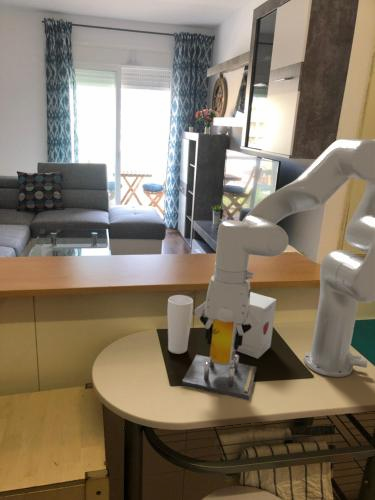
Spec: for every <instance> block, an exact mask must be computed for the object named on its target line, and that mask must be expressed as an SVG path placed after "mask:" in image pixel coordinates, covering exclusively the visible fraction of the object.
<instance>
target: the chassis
mask: <svg viewBox="0 0 375 500" xmlns="http://www.w3.org/2000/svg"><path fill="white" fill-rule="evenodd" d="M239 359H240V355H239V354H235V359H234V361H233V362H232V363H231V364H229V365H225V366H223V365H218V364H215V363H214V362H213V361H212V359H211V358H210V356H205V355H199V354H196V355H195V356H194V358H193V360H192V363H191V364H190V366H189V368H188V370H187V372H186V373H185V374H184V375H185V376H184V377H183V378H182V382H181V383H182V384H181V386H183V387H188V388H191V389H197V390H199V391H200V390H201V391H206V392H211V393H215V394H220V395H223V396H227V397H233V398H236V399H241V400H246V401H250V396H251V393H252V389H253V385H254V381H255V376H256V373H257V366H254V365H249V364H245V363H240V362H239Z"/></svg>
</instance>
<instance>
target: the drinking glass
mask: <svg viewBox="0 0 375 500" xmlns="http://www.w3.org/2000/svg"><path fill="white" fill-rule="evenodd" d="M166 310H167V311H166V316H167V319H166V320H167V339H168V340H167V343H168V345H167V349H168V351H169V352H170V353H171V354H175V355H176V354H177V355H181V354H184V353H186V352H187V351H188V346H189V345H188V343H189V339H190V338H189V336H190V332H191V325H192V319H193V311H194V300H193V298H192V297H191V296H188V295H184V294H177V295H176V294H174V295H171V296H170V297H169V298H168V300H167V309H166Z"/></svg>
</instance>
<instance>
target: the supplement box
mask: <svg viewBox="0 0 375 500" xmlns="http://www.w3.org/2000/svg"><path fill="white" fill-rule="evenodd" d="M276 306H277V298H273V297H270V296H267V295H266V296H265V295H262V294H259V293H257V292H256V293H255V292H253V291H250V309H251V311H252V312H253V313H254V314H255V316H256V317H257V318H258V319H259V323H258V324H257V325H256V326H254V327H252V328H251V329H250V330H249V331H247V332H245V333H244V334H243V340H242V345H241V346H239V347H238V350H236V351H235V352H239V353H241V354H244V355H247V356H249V357H252V358H255V359H257V360H258V359H259V358H260V357H262V356H263V355H264V354H265V353H266V352H267V351H268V349H270V348H271V345H272V338H273V337H272V336H273V330H274V329H273V328H274V323H275V315H276V314H275V313H276ZM250 321H251V320H250V319H249V317H247V320H246V323H244V325H245V324H247V323H248V322H250Z"/></svg>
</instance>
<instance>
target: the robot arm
mask: <svg viewBox="0 0 375 500" xmlns="http://www.w3.org/2000/svg"><path fill="white" fill-rule="evenodd" d="M350 179H357V180H362V181H366V183H365V189H364V193H363V195H362V197H361V199H360V202H359V203H358V205H357V208H356V209H355V210H354V213H353V215H352V216H351V218H350V220H349V222H348V224H347V226H346V227H345V228H346V229H345V232H344V239H345V241H346V243H347V244H348V245H349V246H351V247H352V248H354V249H356V250H358V251H360V252H363V253H365V254H366V255H365V257H362V256H360V255H358V254H356V253H353V252H351V251H347V250H344V249H337V250H336V249H335V250H332V251H330V252H329V253H326V255H324V257H323V259H322V261H321V263H320V269H319V283H320V285H319V287H320V289H319V298H318V306H317V312H316V318H315V323H314V329H313V330H314V331H313V335H312V336H313V337H312V341H311V342H312V343H311V348H310V350H308V351H306V352H305V353H304V354H303V362H304V364H305V365H306V366H307V367H308V368H309V369H311V370H312V371H314V372H316V373H318V374H320V375H323V376H326V377H334V378H341V377H346V376H349V375H350V374H351V373H352V372H353V370H354V366H355V367H356V366H357V367H360V368H365V369H366V368H367V367H368V360H366V359H362V356H361V355H358V354H352V353H351V350H350V349H351V345H352V339H353V335H354V328H355V324H356V317H357V313H358V306H359V304H358V303H359V302H360V303H365V304H370V303H371V304H372V303H374V302H375V138H374V139H373V138H372V139H364V138H362V139H361V138H360V139H359V138H340V139H337V140H335V141H334V142H333V143H331V144H330V145H329V146H328V147H326V149H324V150H323V152H322V153H321V154H320V155H319V156H318V157H317V158H316V159H315V160H314V161H313V162H312V163H311V164H310V165H309V166H308V167H307V168H306V169H305V170H304V171H303V172H302V173H301V174H300V175H299V176H298V177H297V178H296V179H295V180H293V181H292V182H290V183H288V184H285V185H284V186H283V187H281V188H279V189H276V191H274V192H272V193H270V194H268V195H267V196H265V197H264V198H263V199H261V200H259V202H258V203H257V204H256V205H255V206H254V207H253V208H252V209H251V210H250V211H249V212H248V213H247V214H246V215H245V216H244V218H242V220H233V219H231V220H223V221H222V222H220V223H219V225H218V228H217V229H218V230H217V237H216V250H215V251H216V252H215V262H214V271H213V272H214V273H213V275H211V276H210V277H211V278H210V281H209V283H208V288H207V292H206V296H205V297H206V298H205V301H204V302H203V303H201V304H200V305H199V306H197V307H195V309H194V310H193V311H194V314H195V315H196V316H197V318H199V321H200V322H201V323H202V325H203V326H204V328H205V340H207V342H206V344H207V345H208V346H210V345H211V337H212V326H213V321H214V320H215V318H216V313H217V310H218V309H220V308H221V307H225V308H230V310H231V311H232V312H233V317H234V323H235V324H236V327H237V330H238V332H237V334H236V340H235V350H238V347H239V346H241V345H242V340H243V334H244V333H245V332H247V331H249V330H250V329H251V328H252V327H254V326H256V325H257V324H258V323H259V319H258V318H257V317H256V316H255V314H254V313H253V312H252V311H251V309H250V292H251V283H250V280H251V279H253V278H254V272H251V271H250V270H249V259H250V255H252V256H259V257H265V258H272V257H277V256H280V255H282V254H283V253H284V252H285V251H286V250H287V248H288V246H289V236H288V234H287V232H286V230H285V229H283V228H282V227H281V226H280V225H277V224H278V223H279V222H280V221H282V220H283V219H285V218H286V217H288V216H290V215H294V214H297V213H300V212H304V211H311V210H315V209H317V208H320V207H322V206H323V205H325V203H326V202H327V201H328V200H330V199H331V198H332V197H333V195H334V194H335V193H337V191H338V190H339V189H341V187H343V185H344V184H346V183H347V182H348V180H350ZM247 317H249V319H250V320H251V321H250V322H248V323H247V324H245V325H244V323H246V320H247Z"/></svg>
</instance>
